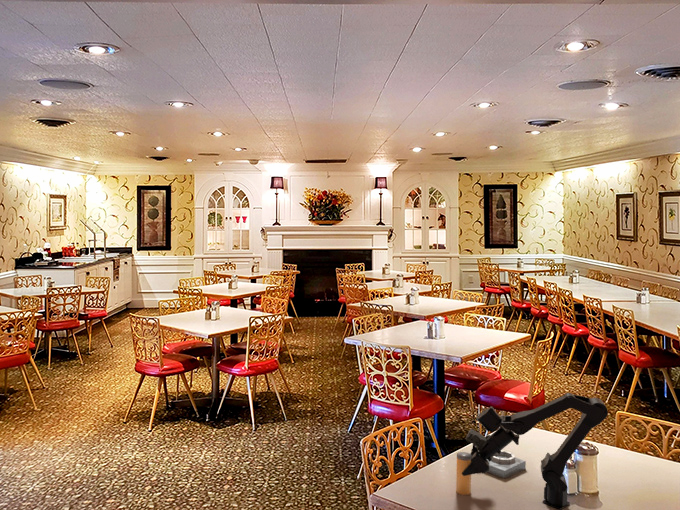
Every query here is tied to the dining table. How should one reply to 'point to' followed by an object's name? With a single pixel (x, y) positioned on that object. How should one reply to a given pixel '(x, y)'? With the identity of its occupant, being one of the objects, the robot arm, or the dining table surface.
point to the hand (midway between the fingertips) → (463, 469)
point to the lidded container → (462, 481)
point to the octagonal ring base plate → (505, 464)
